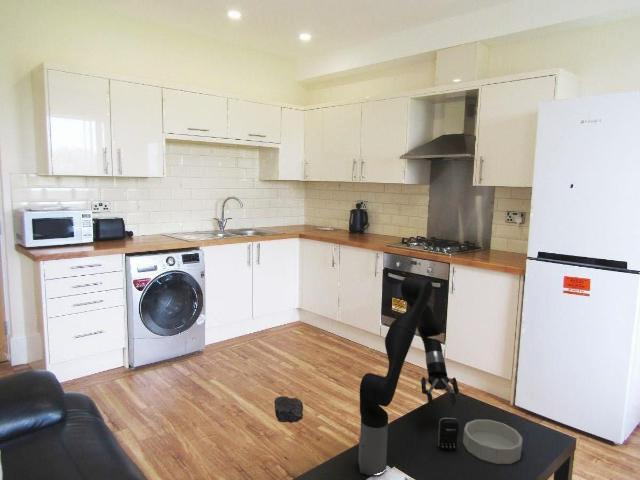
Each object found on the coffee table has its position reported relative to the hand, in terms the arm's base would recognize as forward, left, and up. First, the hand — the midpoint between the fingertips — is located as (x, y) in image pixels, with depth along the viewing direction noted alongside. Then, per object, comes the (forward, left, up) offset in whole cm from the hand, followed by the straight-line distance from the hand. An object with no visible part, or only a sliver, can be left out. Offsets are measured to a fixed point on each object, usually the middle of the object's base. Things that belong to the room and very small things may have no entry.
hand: (442, 404), depth 173 cm
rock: (-61, +14, -13) cm, 64 cm away
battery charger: (0, -9, -13) cm, 16 cm away
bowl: (+17, -8, -13) cm, 23 cm away
